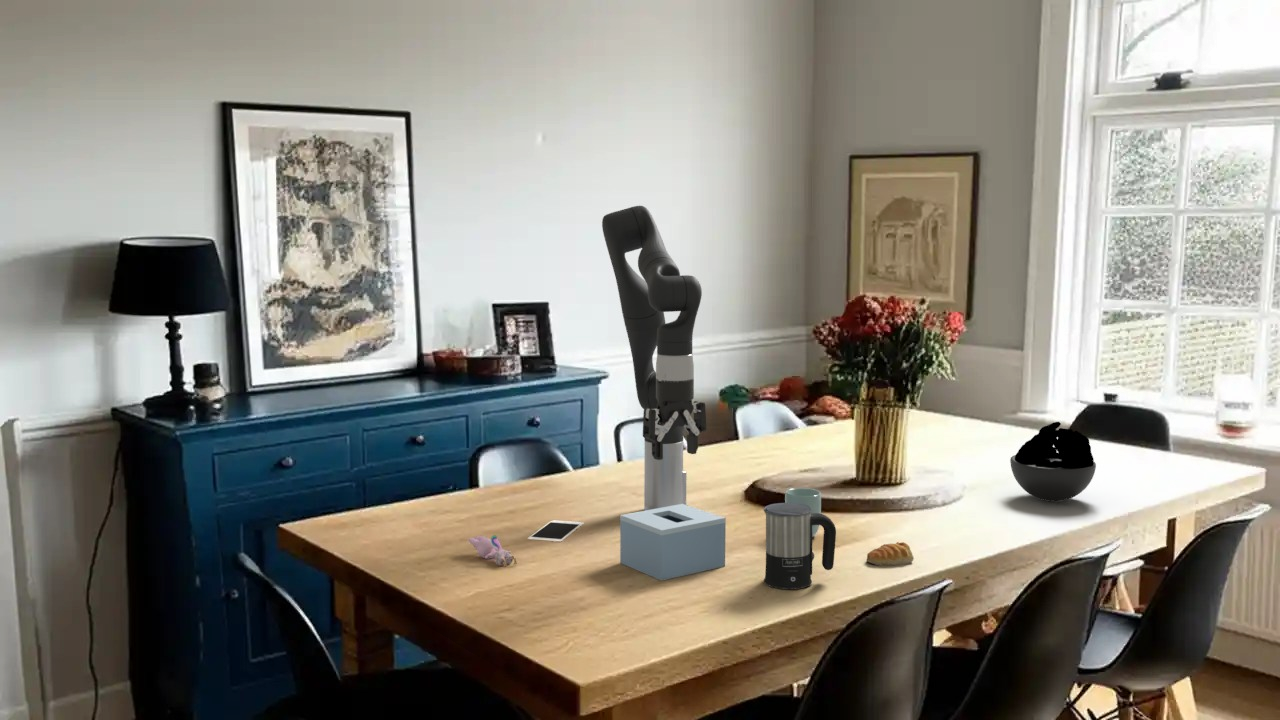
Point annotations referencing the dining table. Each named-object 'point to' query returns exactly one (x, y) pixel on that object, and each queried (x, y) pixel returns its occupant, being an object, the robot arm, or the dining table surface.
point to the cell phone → (556, 531)
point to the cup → (806, 501)
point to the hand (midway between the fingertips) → (675, 456)
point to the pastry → (891, 554)
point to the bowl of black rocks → (1054, 464)
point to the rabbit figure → (492, 550)
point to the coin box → (672, 541)
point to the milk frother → (794, 544)
